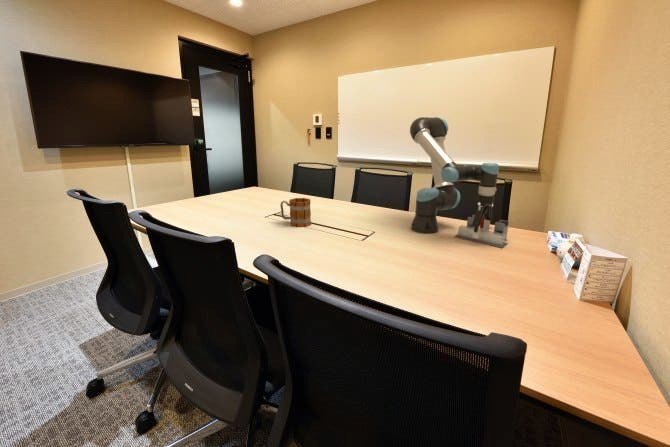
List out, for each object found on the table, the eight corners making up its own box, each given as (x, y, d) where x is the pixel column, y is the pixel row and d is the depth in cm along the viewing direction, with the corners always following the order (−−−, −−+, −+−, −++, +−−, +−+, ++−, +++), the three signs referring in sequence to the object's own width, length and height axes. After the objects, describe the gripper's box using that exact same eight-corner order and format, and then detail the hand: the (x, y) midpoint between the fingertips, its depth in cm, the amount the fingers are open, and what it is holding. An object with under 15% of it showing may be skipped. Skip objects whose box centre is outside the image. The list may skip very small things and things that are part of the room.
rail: (457, 235, 168) (458, 226, 166) (461, 233, 171) (462, 224, 169) (501, 245, 153) (503, 236, 152) (504, 243, 156) (505, 234, 154)
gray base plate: (454, 236, 167) (454, 235, 167) (460, 233, 173) (460, 232, 173) (501, 248, 151) (502, 247, 151) (507, 244, 157) (507, 243, 156)
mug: (314, 222, 195) (314, 198, 190) (307, 228, 182) (306, 203, 178) (286, 219, 200) (285, 196, 196) (276, 225, 188) (275, 201, 183)
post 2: (492, 240, 161) (495, 222, 158) (497, 237, 166) (499, 219, 163) (501, 242, 158) (504, 224, 156) (506, 239, 163) (509, 221, 160)
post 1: (465, 234, 171) (467, 217, 168) (470, 231, 176) (473, 214, 173) (473, 236, 168) (476, 218, 165) (478, 233, 173) (481, 216, 170)
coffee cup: (491, 229, 179) (495, 204, 175) (476, 228, 181) (479, 203, 176) (487, 225, 187) (491, 200, 183) (473, 224, 189) (476, 200, 184)
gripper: (484, 199, 144) (478, 242, 150) (503, 192, 161) (496, 231, 167) (468, 197, 149) (463, 239, 155) (487, 190, 166) (482, 228, 172)
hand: (480, 235), depth 161 cm, fingers open, 13 cm apart
